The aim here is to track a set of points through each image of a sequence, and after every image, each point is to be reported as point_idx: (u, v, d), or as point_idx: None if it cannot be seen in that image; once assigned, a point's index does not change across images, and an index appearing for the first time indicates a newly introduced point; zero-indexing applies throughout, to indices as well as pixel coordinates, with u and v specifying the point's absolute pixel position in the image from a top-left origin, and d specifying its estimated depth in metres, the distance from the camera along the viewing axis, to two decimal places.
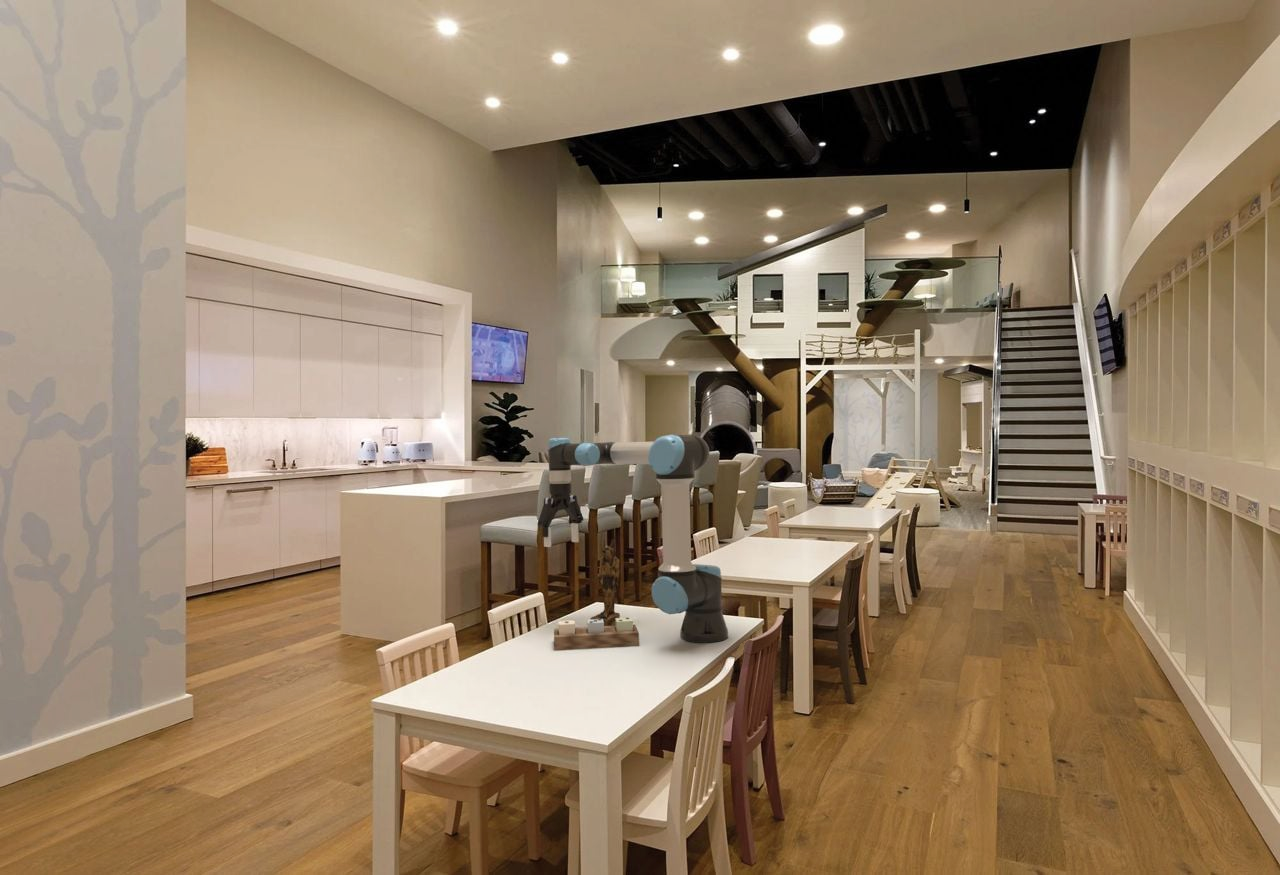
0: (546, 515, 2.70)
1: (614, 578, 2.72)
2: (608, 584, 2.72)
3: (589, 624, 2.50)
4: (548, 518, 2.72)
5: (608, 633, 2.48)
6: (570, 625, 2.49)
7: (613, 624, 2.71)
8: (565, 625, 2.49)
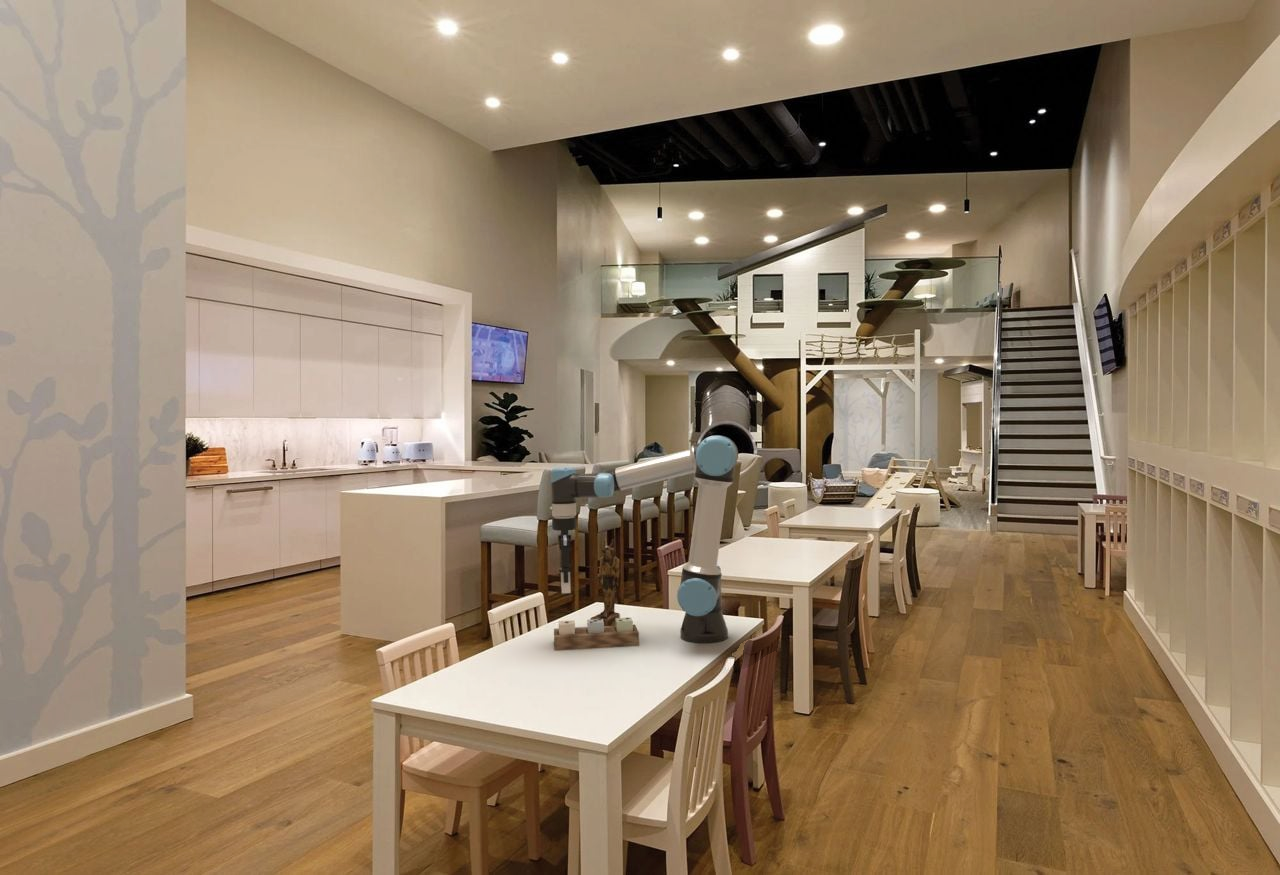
0: None
1: (614, 578, 2.72)
2: (608, 584, 2.72)
3: (589, 624, 2.50)
4: None
5: (608, 633, 2.48)
6: (570, 625, 2.49)
7: (613, 624, 2.71)
8: (565, 625, 2.49)
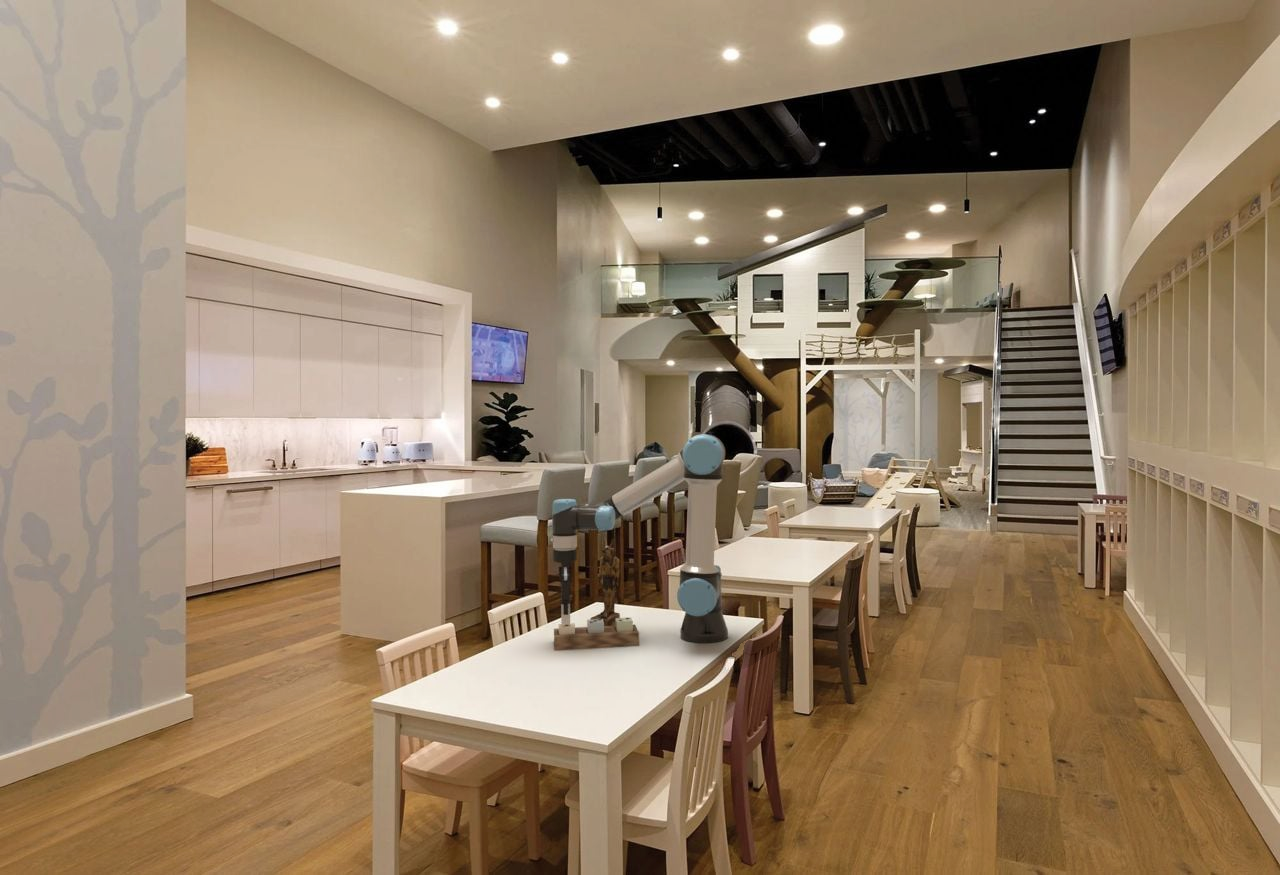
0: (569, 591, 2.47)
1: (614, 578, 2.72)
2: (608, 584, 2.72)
3: (589, 624, 2.50)
4: None
5: (608, 633, 2.48)
6: (570, 628, 2.49)
7: (613, 624, 2.71)
8: (565, 628, 2.49)
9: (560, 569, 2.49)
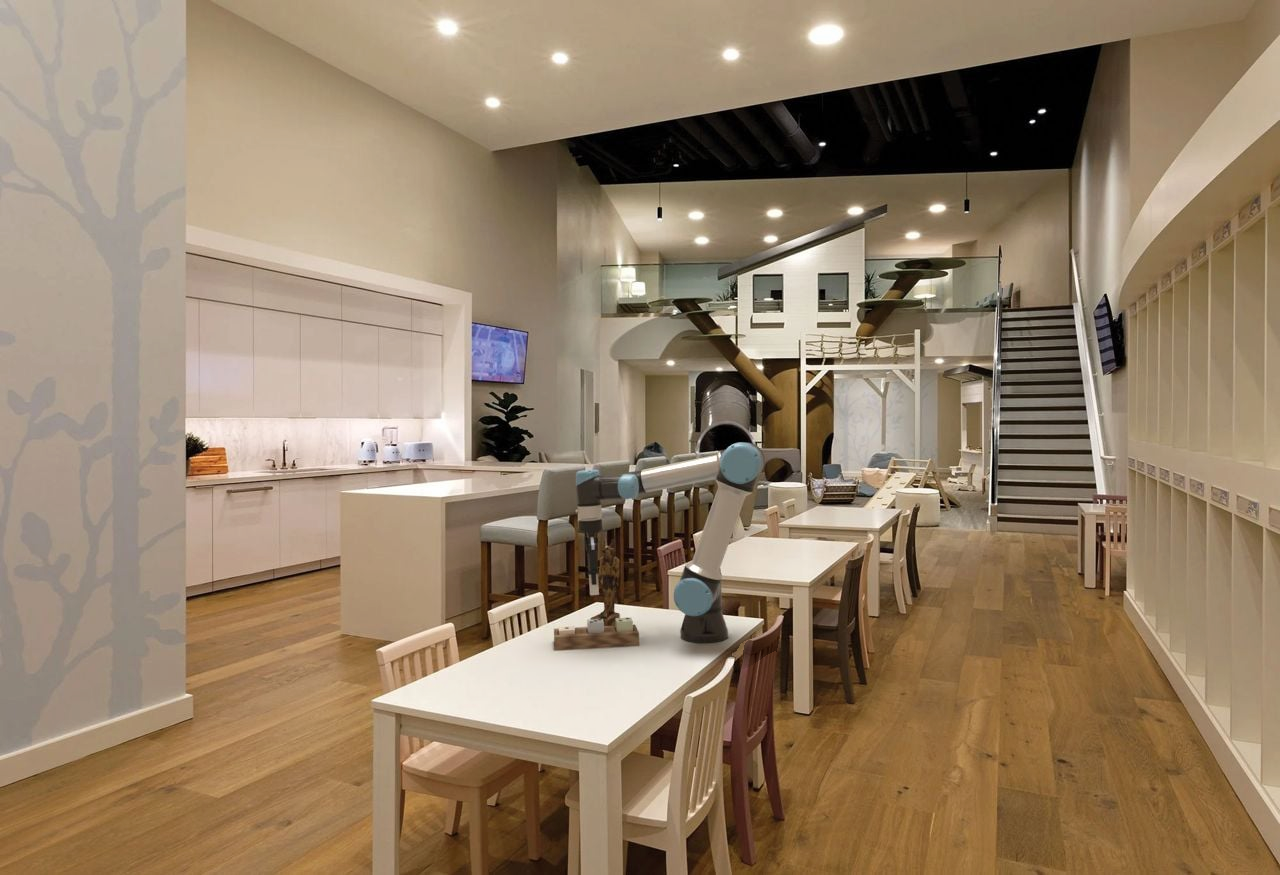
0: None
1: (614, 578, 2.72)
2: (608, 584, 2.72)
3: (589, 624, 2.50)
4: None
5: (608, 633, 2.48)
6: (570, 631, 2.49)
7: (613, 624, 2.71)
8: (565, 631, 2.49)
9: (586, 539, 2.50)
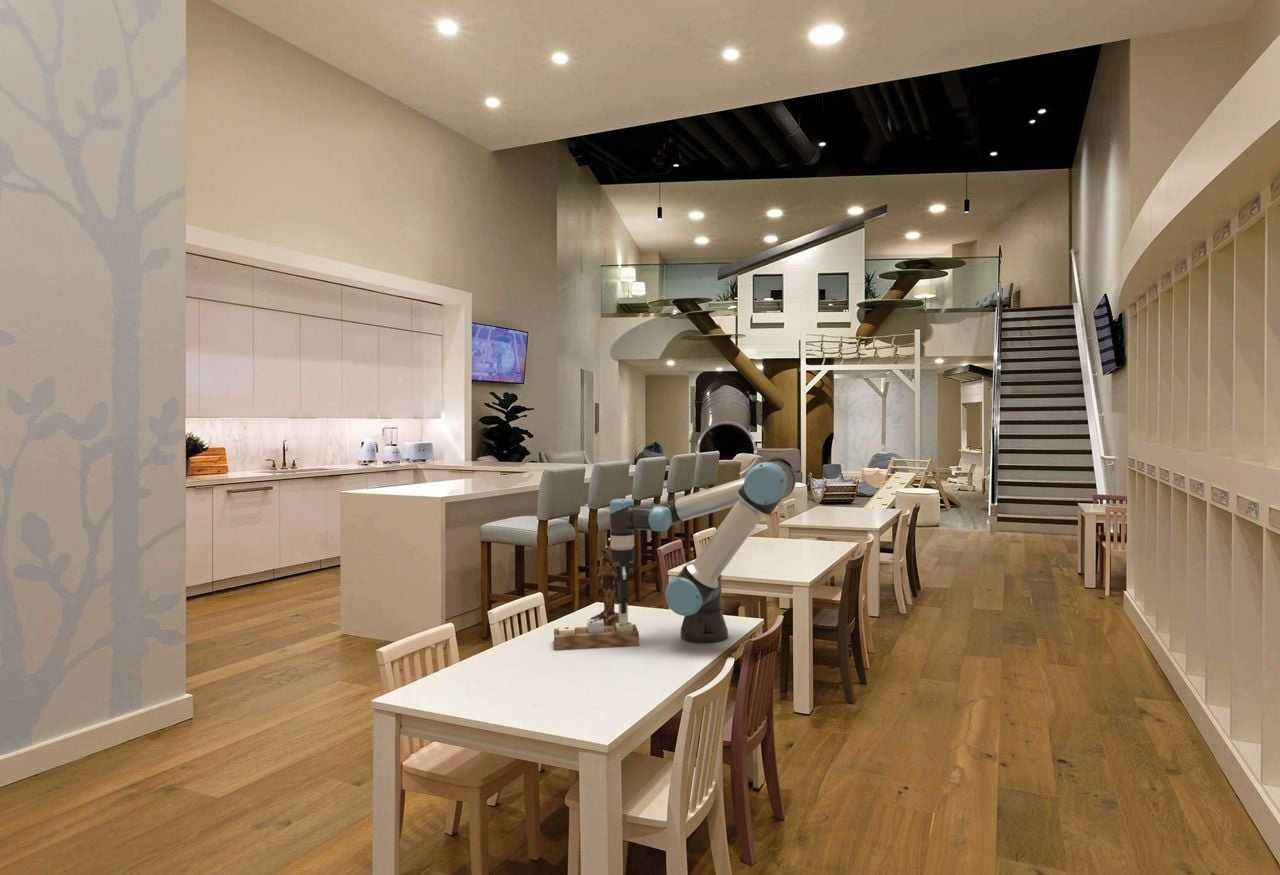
0: (627, 590, 2.49)
1: (614, 578, 2.72)
2: (608, 584, 2.72)
3: (589, 624, 2.50)
4: None
5: (608, 633, 2.48)
6: (570, 631, 2.49)
7: (613, 624, 2.71)
8: (565, 631, 2.49)
9: (618, 568, 2.51)
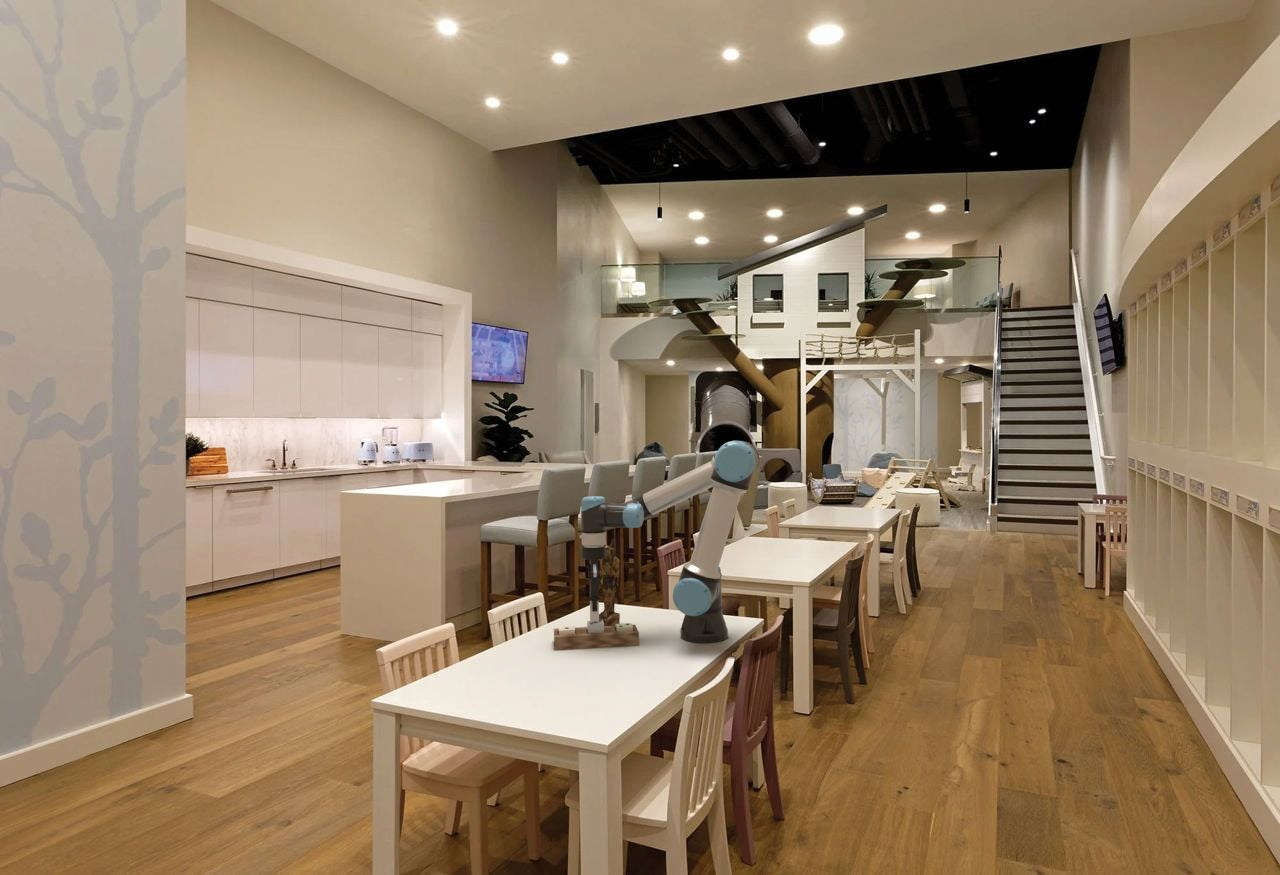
0: (598, 588, 2.48)
1: (614, 578, 2.72)
2: (608, 584, 2.72)
3: (589, 625, 2.50)
4: None
5: (608, 633, 2.48)
6: (570, 631, 2.49)
7: (613, 624, 2.71)
8: (565, 631, 2.49)
9: (589, 566, 2.50)
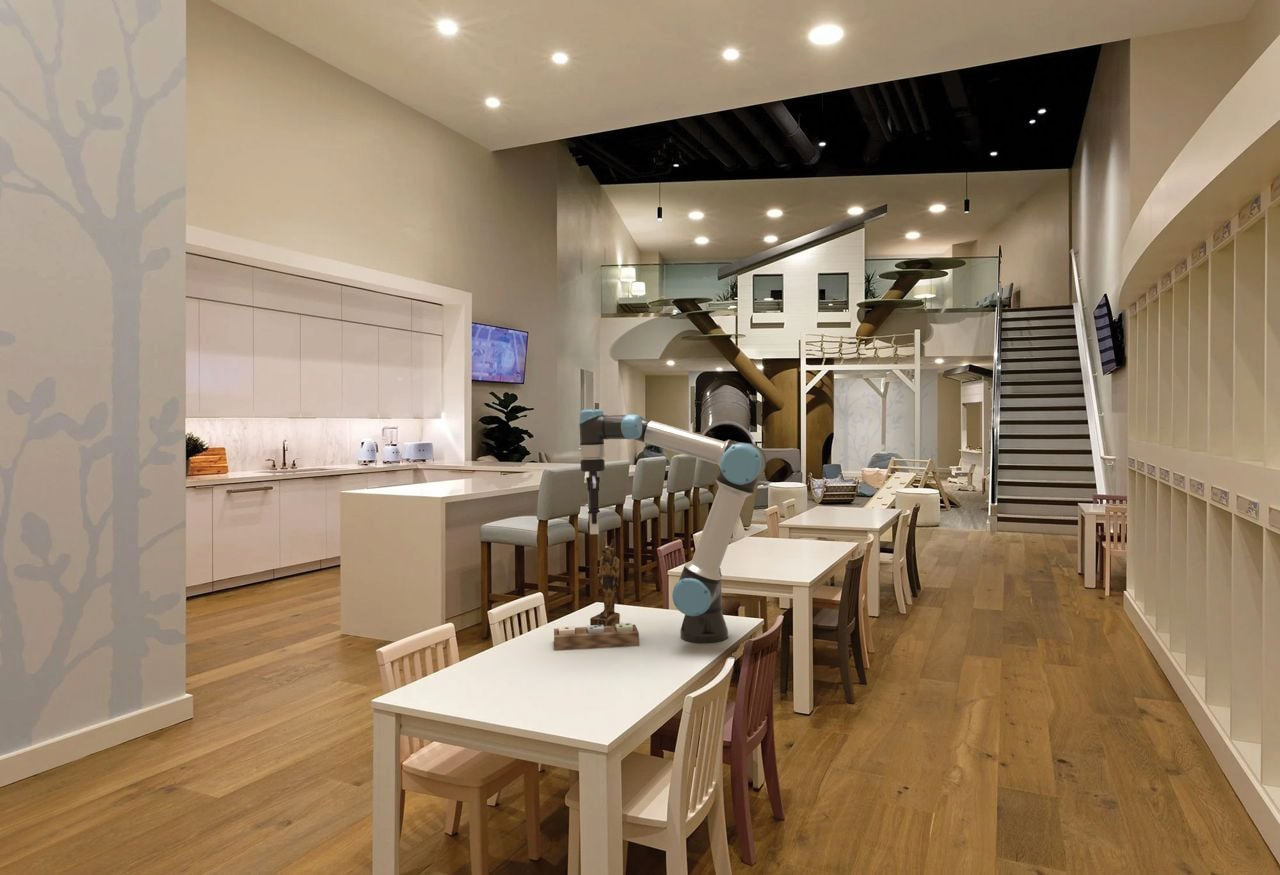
0: None
1: (614, 578, 2.72)
2: (608, 584, 2.72)
3: (589, 630, 2.50)
4: None
5: (608, 633, 2.48)
6: (570, 631, 2.49)
7: (613, 624, 2.71)
8: (565, 631, 2.49)
9: (588, 478, 2.50)
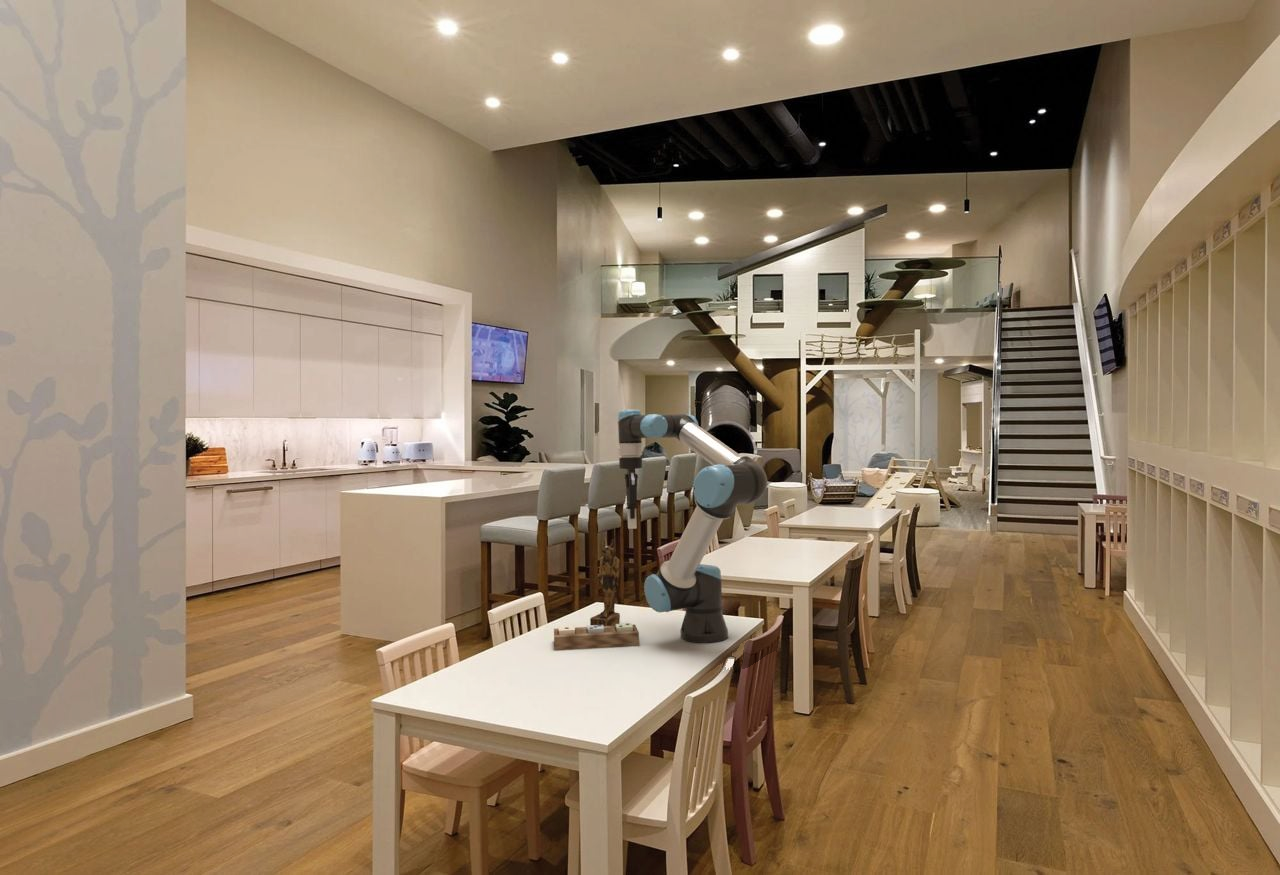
0: (636, 495, 2.60)
1: (614, 578, 2.72)
2: (608, 584, 2.72)
3: (589, 630, 2.50)
4: None
5: (608, 633, 2.48)
6: (570, 631, 2.49)
7: (613, 624, 2.71)
8: (565, 631, 2.49)
9: (627, 475, 2.62)
